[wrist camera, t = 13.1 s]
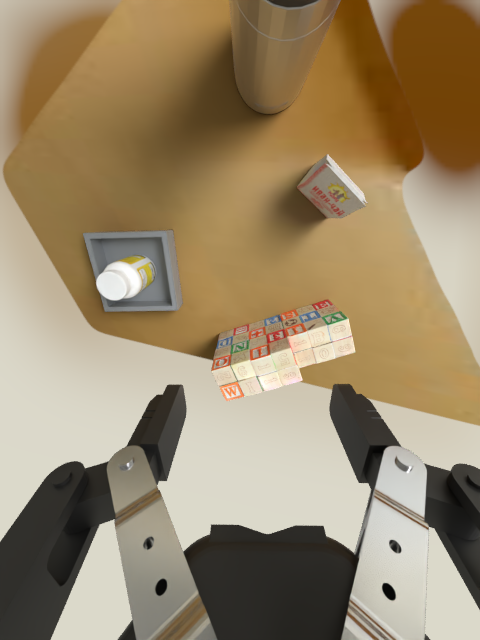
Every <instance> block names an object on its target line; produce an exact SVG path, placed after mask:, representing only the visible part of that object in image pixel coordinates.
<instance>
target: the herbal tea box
mask: <svg viewBox="0 0 480 640" xmlns="http://www.w3.org/2000/svg"><path fill="white" fill-rule="evenodd" d="M296 188H297V189H298V190H299V191H300V192H302V193H303V194H304V195H305V196H306V197H307V198H308V199H309V200H310V201H311V202H312V203H313V204H314V205H315V206H316V207H317V208H318V209H319V210H320V211H321V212H322V213H323V214H324V215H325V216H326V217H327V218H343V217H345V216H347V215H349V214H351V213H352V212H354V211H356V210H358V209H361V208H363V207H366V206H365V204H364V202H365V203H367V202H366V201H365V197H364V193H363V192H362V191H361V190H360V189H359V188H358V187H357V186H356V185H355V184H354V182H353V181H352V180H351V179H350V178H349V177H348V176H347V175H346V174H345V173H344V172H343V170H342V169H341V168H340V167H339V166H338V165H337V164H336V163H335V162H334V161H333V160H332V158H331V157H330V156H329V155H328V154H327V155H326V156H325V157H323V158H322V159H321V160H319V161H318V162H317V163H315V164H314V165H313V167H312V168H311V169H310V170H309V172H308V173H307V174H306V176H305V177H304V178H303V179H302V181H301V182H300V183H299V184H298V186H297V187H296Z"/></svg>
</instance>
